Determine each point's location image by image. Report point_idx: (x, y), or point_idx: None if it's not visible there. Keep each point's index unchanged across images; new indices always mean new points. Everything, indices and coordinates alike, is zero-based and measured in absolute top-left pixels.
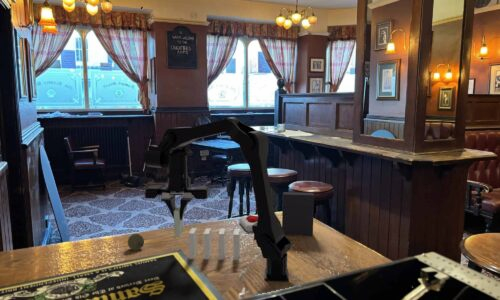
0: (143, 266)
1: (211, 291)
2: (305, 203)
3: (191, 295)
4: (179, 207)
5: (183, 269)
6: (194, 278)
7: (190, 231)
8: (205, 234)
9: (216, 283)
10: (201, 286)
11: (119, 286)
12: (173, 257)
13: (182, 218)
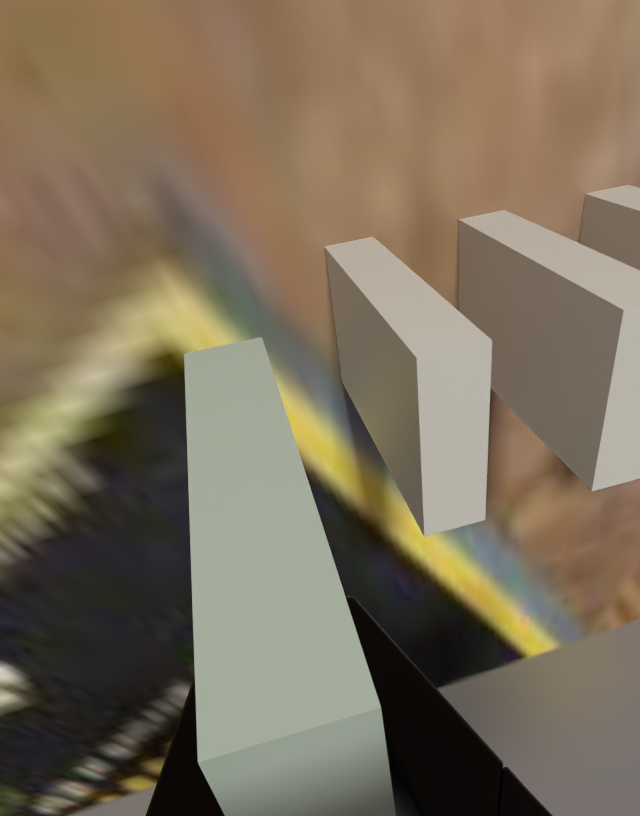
0: (73, 580)
1: (545, 632)
2: None
3: (470, 677)
4: (314, 803)
5: (361, 525)
6: (452, 580)
7: (432, 480)
8: (608, 479)
9: (564, 579)
10: (499, 619)
11: (118, 748)
12: None
13: (361, 610)
